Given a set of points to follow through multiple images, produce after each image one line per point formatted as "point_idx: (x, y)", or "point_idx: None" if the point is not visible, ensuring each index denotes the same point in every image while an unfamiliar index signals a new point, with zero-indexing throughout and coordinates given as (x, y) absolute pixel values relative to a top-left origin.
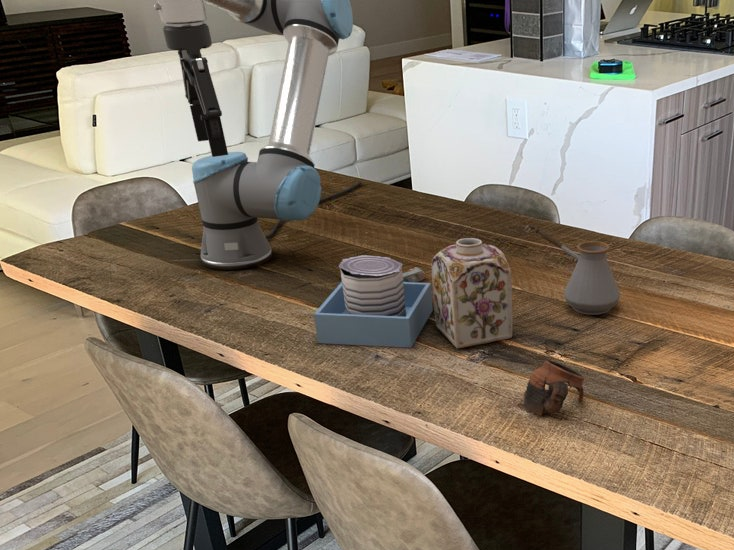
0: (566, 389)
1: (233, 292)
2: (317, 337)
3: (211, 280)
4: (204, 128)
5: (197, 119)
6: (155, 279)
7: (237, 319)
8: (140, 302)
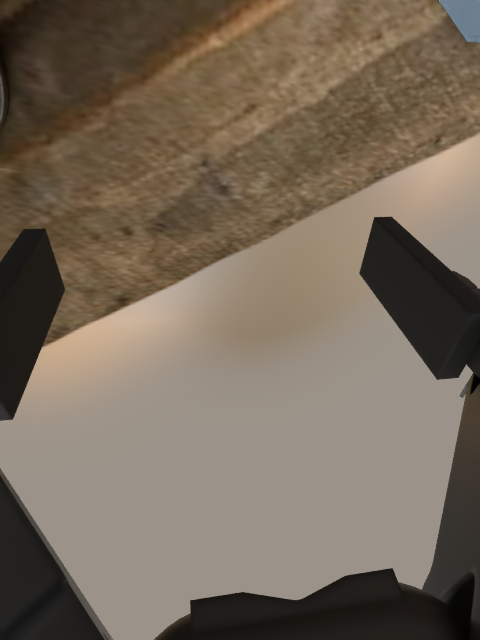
0: None
1: (150, 129)
2: (475, 41)
3: (64, 156)
4: (36, 287)
5: (29, 340)
6: None
7: (284, 152)
8: (140, 275)
